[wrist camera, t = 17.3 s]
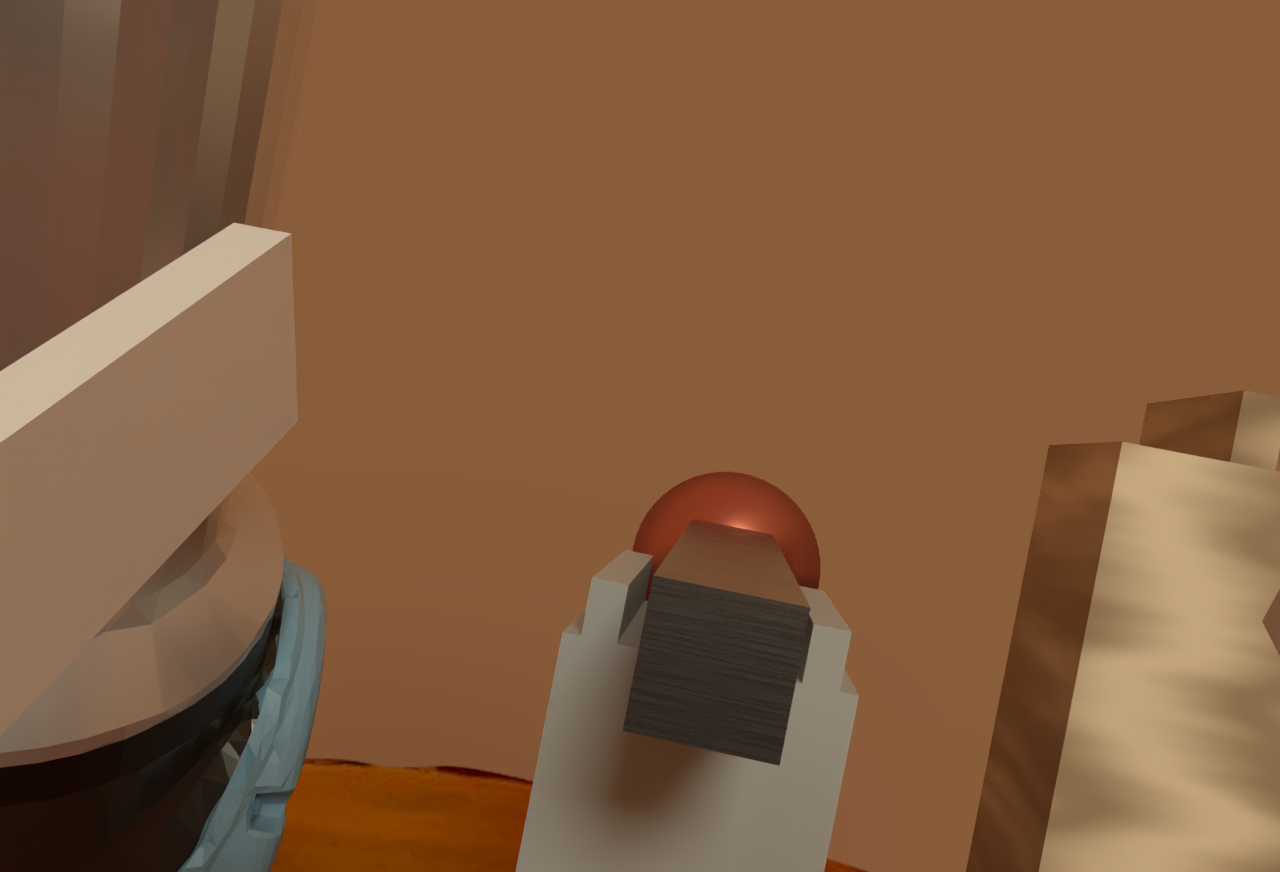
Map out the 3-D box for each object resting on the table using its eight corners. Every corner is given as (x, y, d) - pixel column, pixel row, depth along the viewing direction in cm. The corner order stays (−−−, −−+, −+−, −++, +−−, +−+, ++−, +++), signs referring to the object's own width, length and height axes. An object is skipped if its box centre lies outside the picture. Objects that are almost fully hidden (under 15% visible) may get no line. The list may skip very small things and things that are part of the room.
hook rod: (499, 811, 21) (571, 451, 21) (619, 632, 42) (654, 455, 42) (865, 896, 20) (938, 524, 20) (797, 670, 42) (833, 491, 42)
